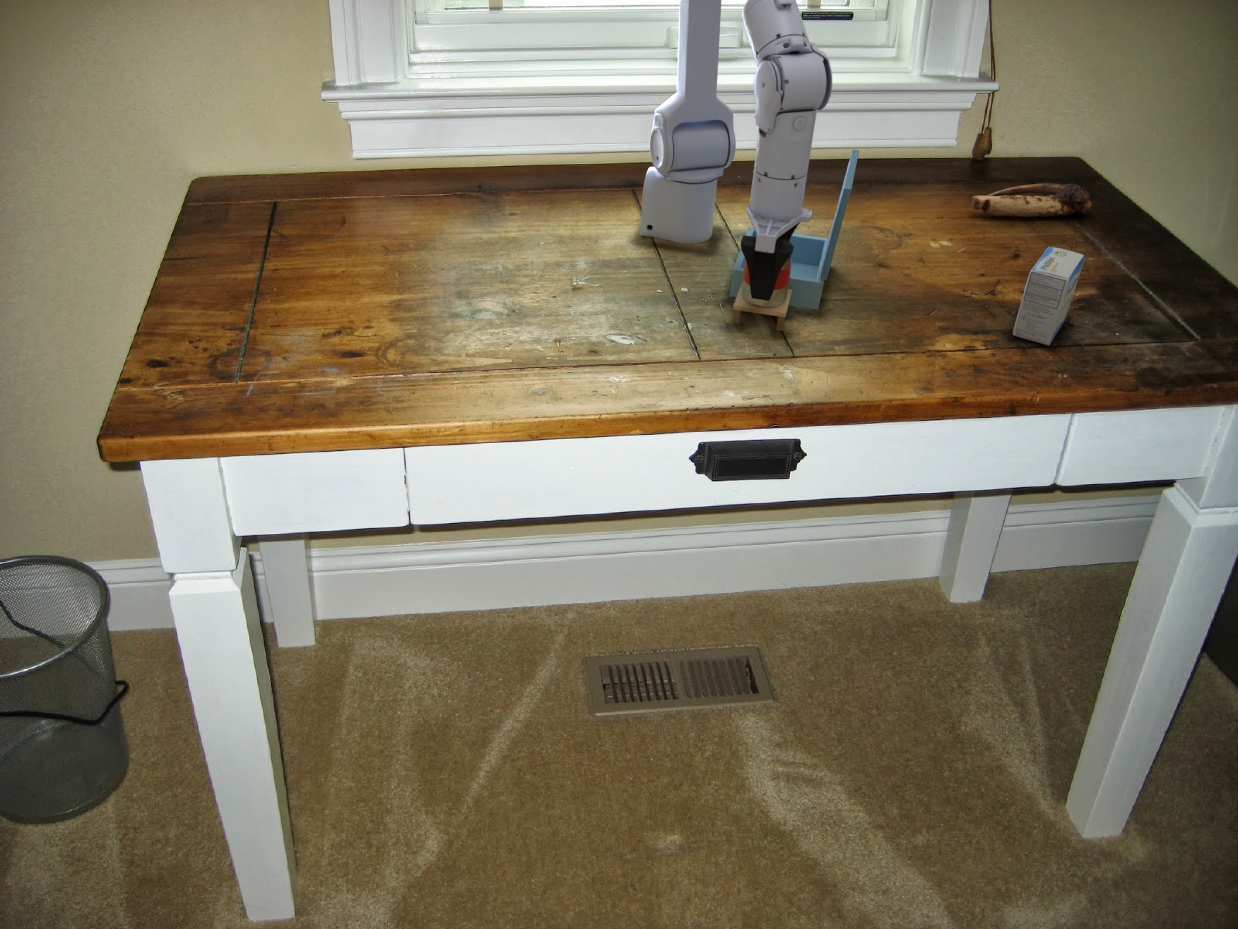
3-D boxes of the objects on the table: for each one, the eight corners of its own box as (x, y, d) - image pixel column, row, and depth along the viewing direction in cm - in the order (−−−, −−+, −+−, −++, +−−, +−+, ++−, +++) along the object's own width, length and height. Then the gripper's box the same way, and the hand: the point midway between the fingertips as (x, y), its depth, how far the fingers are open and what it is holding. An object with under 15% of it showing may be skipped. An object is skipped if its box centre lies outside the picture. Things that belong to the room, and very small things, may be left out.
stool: (730, 329, 124) (733, 304, 122) (738, 305, 129) (741, 281, 127) (782, 337, 123) (786, 312, 121) (788, 313, 128) (792, 289, 126)
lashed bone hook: (1065, 200, 161) (951, 198, 158) (1075, 169, 158) (959, 167, 155) (1096, 224, 153) (977, 223, 150) (1106, 192, 150) (985, 190, 148)
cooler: (728, 301, 129) (732, 269, 127) (744, 257, 139) (748, 226, 137) (816, 315, 128) (822, 282, 125) (826, 269, 137) (832, 238, 135)
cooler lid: (844, 187, 118) (851, 189, 118) (852, 148, 128) (859, 150, 128) (819, 278, 125) (826, 280, 125) (829, 234, 135) (835, 236, 135)
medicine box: (1048, 347, 124) (1070, 279, 119) (1010, 336, 125) (1030, 268, 120) (1065, 320, 129) (1087, 254, 124) (1028, 309, 131) (1048, 244, 126)
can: (737, 303, 122) (744, 251, 118) (744, 283, 126) (751, 232, 123) (783, 310, 121) (791, 258, 118) (789, 290, 126) (796, 238, 122)
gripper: (811, 200, 108) (792, 319, 117) (824, 151, 120) (806, 262, 128) (742, 191, 110) (728, 309, 118) (761, 143, 121) (748, 253, 129)
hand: (765, 284), depth 123 cm, fingers open, 6 cm apart
